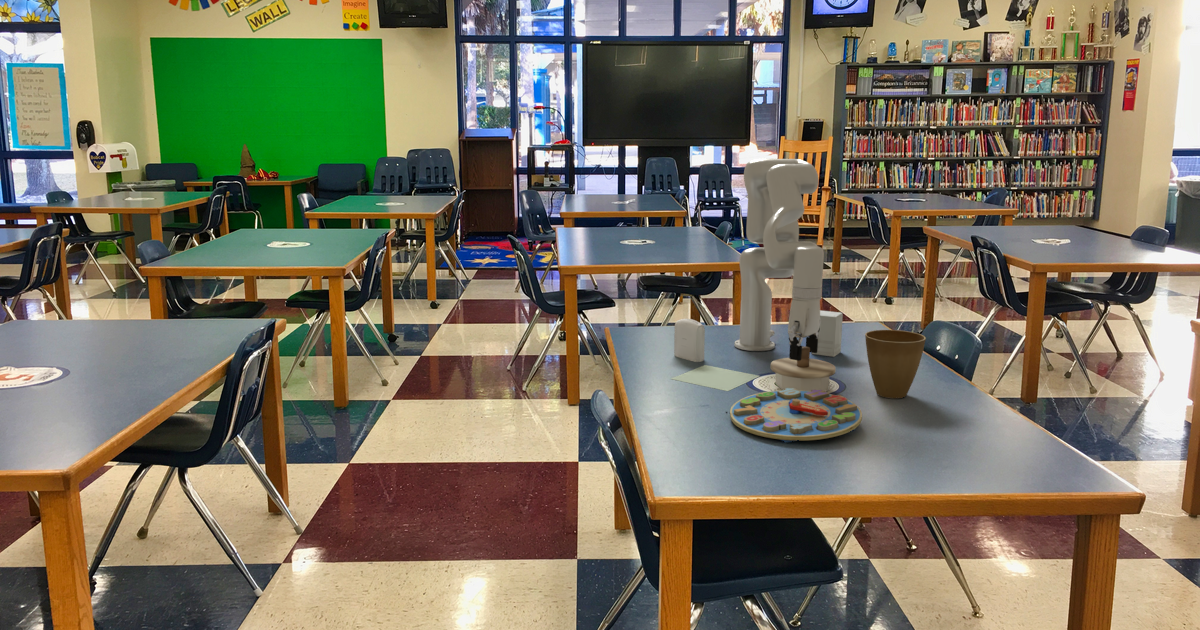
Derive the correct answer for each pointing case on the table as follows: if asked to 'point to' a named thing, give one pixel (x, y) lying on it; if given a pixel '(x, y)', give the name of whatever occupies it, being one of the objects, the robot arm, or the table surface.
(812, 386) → the bowl
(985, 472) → the table surface
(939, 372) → the table surface
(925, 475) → the table surface
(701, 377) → the mat
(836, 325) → the supplement box
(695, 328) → the photo printer
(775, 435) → the shape sorting clock
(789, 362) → the lid
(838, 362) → the table surface
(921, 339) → the plant pot
